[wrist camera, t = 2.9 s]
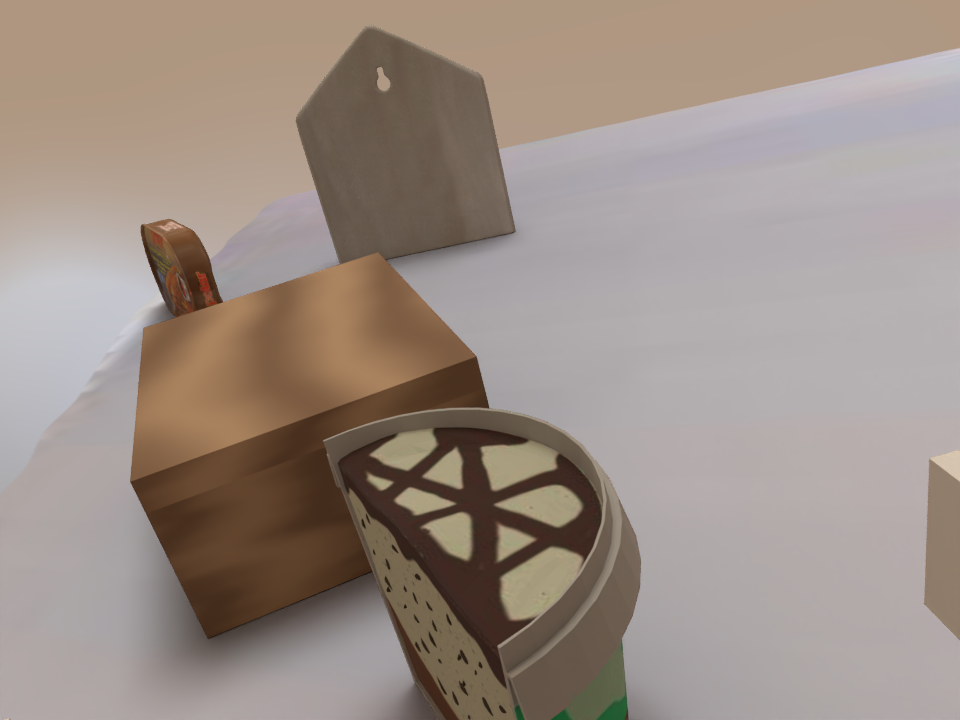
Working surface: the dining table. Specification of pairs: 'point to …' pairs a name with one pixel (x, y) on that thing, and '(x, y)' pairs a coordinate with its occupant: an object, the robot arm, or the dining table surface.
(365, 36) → the planter
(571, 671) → the food container
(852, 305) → the dining table surface
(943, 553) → the robot arm
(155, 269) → the tin
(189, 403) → the walnut shelf
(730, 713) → the dining table surface
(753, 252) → the dining table surface
